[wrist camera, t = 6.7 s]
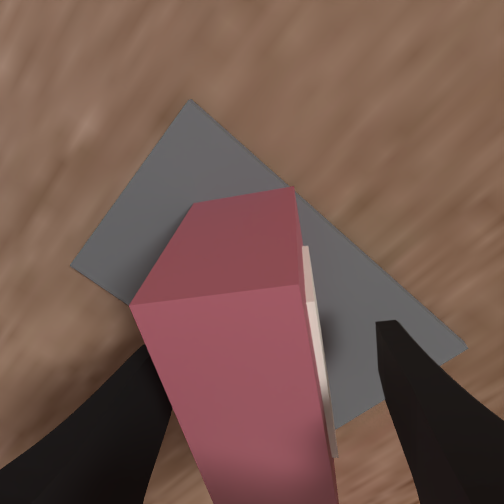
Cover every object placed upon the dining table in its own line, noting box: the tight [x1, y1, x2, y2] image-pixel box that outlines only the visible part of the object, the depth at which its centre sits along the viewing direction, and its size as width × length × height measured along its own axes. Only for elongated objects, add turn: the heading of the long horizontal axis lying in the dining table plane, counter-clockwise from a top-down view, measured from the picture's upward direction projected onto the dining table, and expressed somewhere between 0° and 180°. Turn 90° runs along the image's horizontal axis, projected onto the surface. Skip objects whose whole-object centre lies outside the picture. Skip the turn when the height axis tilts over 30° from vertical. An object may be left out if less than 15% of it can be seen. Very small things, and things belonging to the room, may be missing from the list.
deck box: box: [129, 186, 339, 504], centre depth 12 cm, size 4×9×6 cm, turn 11°
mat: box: [70, 99, 468, 430], centre depth 15 cm, size 14×8×1 cm, turn 49°
